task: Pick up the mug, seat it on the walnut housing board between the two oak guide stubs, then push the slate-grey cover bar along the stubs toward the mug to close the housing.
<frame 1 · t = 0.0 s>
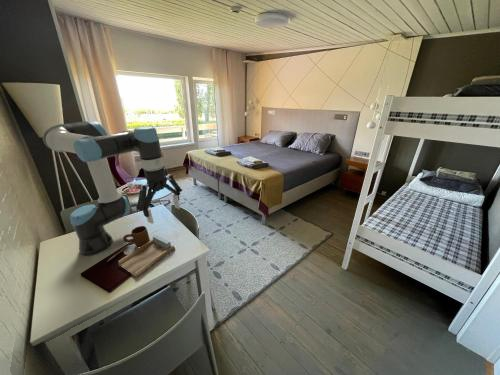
hand: (165, 214, 89), 28 cm above the table, fingers open, 13 cm apart
housing base: (148, 257, 105), on the table
mug: (138, 245, 114), on the table
cover bar: (161, 241, 111), point 3 cm above the table, slide at 0.0 cm
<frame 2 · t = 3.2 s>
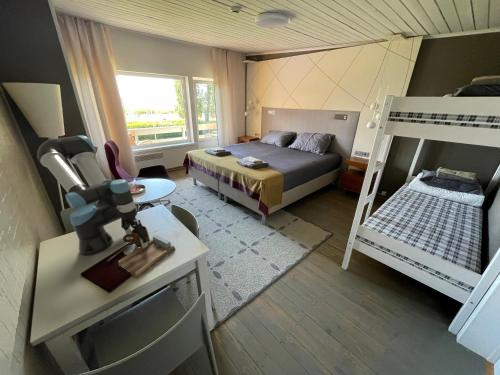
hand: (138, 242, 113), 2 cm above the table, fingers open, 13 cm apart
nothing on the table moved.
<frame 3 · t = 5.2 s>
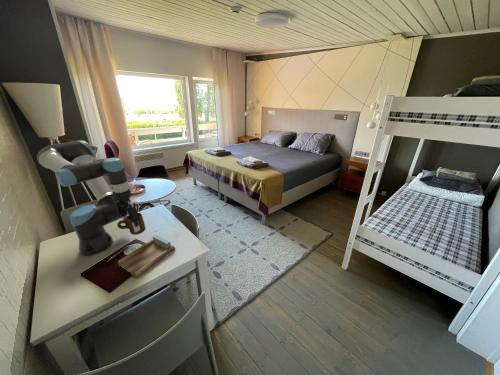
hand: (133, 228, 109), 11 cm above the table, fingers closed on mug, 7 cm apart
mug: (133, 232, 111), point 8 cm above the table, touching gripper
everything else where it was.
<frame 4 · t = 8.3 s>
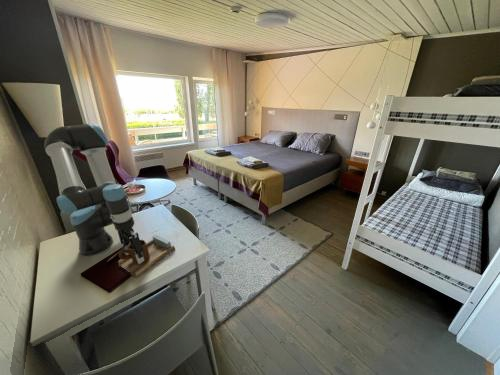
hand: (136, 259, 99), 4 cm above the table, fingers closed on mug, 7 cm apart
mug: (137, 262, 101), point 1 cm above the table, touching gripper, housing base
everything else where it was.
when the fingers open (3 cm above the table, at t = 9.3 s): mug stays where it is, resting on housing base.
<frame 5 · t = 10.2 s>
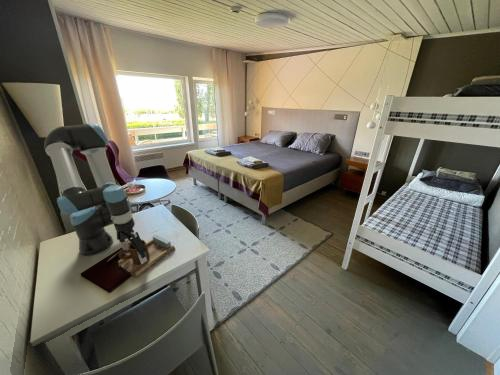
hand: (135, 256, 99), 4 cm above the table, fingers open, 13 cm apart
mug: (137, 262, 101), point 1 cm above the table, touching housing base
everything else where it was.
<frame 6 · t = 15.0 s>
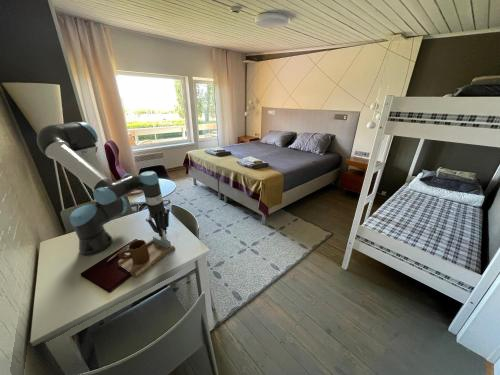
hand: (164, 240, 112), 3 cm above the table, fingers closed
cover bar: (161, 241, 111), point 3 cm above the table, slide at 0.0 cm, touching gripper
everything else where it was.
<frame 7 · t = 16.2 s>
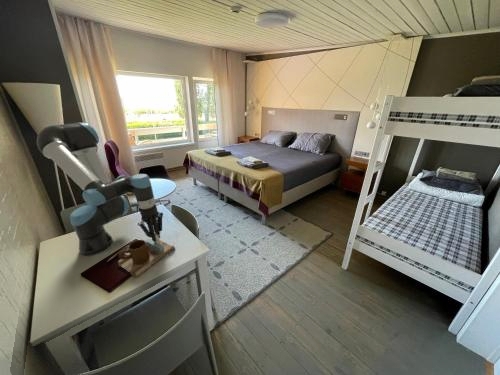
hand: (157, 244, 109), 3 cm above the table, fingers closed
cover bar: (155, 246, 107), point 3 cm above the table, slide at 4.2 cm, touching gripper
everything else where it was.
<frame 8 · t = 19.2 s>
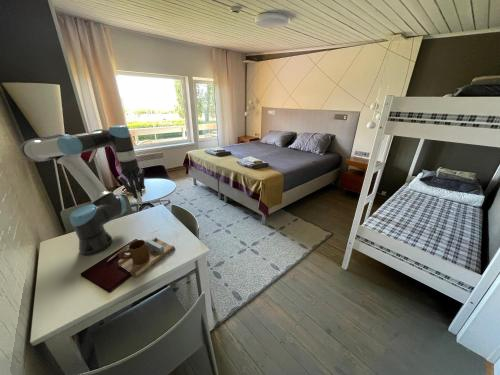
hand: (140, 202, 107), 24 cm above the table, fingers closed
cover bar: (155, 246, 107), point 3 cm above the table, slide at 4.2 cm
everything else where it was.
at the end: mug inside the target area on the housing base (0.6 cm from its centre), point 1.0 cm above the housing base's base; mug tilted 0°; cover bar slide at 4.2 cm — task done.
